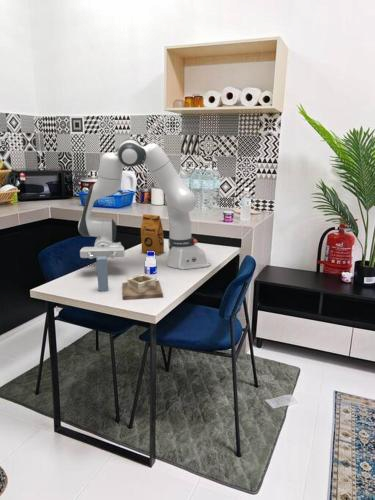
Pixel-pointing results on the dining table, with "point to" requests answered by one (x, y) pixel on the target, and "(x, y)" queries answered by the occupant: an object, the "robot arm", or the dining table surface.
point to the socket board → (141, 295)
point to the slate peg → (102, 273)
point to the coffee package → (152, 234)
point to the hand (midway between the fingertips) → (102, 256)
